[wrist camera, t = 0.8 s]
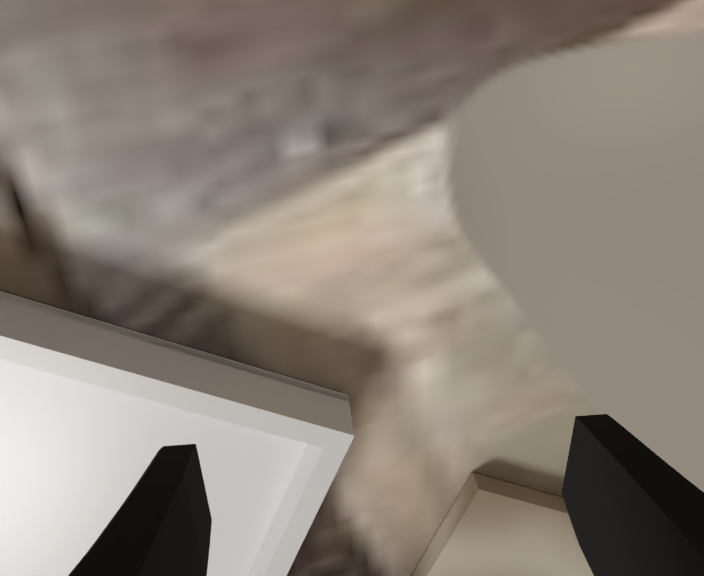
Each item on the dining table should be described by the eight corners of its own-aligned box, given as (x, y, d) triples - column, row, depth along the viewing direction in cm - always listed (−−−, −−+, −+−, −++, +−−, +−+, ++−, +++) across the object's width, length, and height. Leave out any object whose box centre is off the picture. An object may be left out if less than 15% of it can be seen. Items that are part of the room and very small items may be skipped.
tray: (206, 696, 29) (199, 754, 27) (-163, 634, 25) (-208, 695, 23) (347, 394, 23) (354, 435, 21) (-108, 258, 19) (-161, 290, 17)
